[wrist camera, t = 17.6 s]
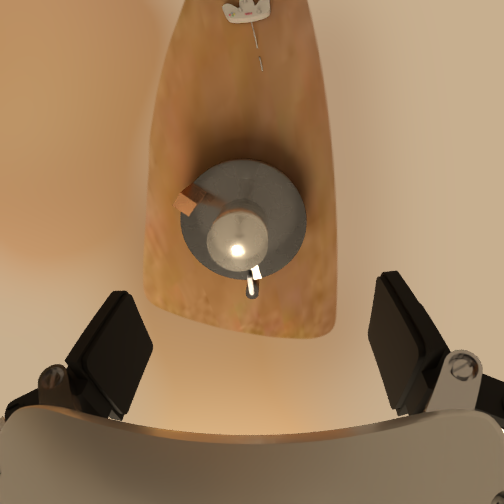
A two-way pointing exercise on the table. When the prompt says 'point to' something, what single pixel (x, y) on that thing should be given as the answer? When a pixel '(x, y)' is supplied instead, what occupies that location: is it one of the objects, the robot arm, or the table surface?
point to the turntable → (251, 188)
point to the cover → (239, 236)
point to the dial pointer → (252, 287)
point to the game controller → (247, 13)
